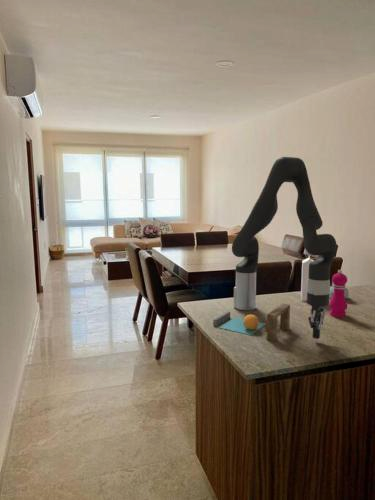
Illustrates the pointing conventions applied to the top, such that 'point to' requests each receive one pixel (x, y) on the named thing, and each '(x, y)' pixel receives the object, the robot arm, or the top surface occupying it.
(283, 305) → the bridge
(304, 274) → the milk
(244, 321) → the ball
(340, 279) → the pepper mill
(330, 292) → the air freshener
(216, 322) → the stopper
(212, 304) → the top surface
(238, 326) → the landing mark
